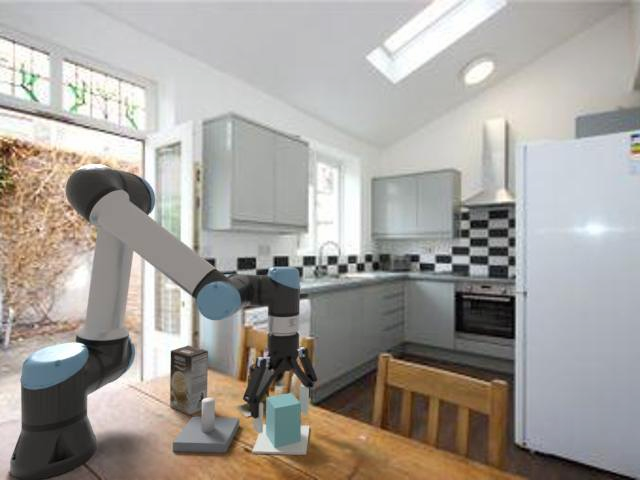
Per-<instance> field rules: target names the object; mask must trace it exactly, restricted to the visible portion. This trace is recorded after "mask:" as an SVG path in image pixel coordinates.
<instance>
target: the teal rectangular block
mask: <svg viewBox="0 0 640 480" xmlns="http://www.w3.org/2000/svg"><path fill="white" fill-rule="evenodd" d="M265 413H266V414H265V425H266V435H267V437H268V439H269V440H270V442H271V443H272V445H273V447H274V448H277V447H281V446H285V445H289V444H293V443H297V442H301V424H302V423H301V422H302V418H301V417H302V416H301V415H302V412H301V403H300V402H299V400H298V398H297V397H295V395H294V394H293V393H292V392H288V393H283V394H279V395H273V396H269V397H266V412H265Z"/></svg>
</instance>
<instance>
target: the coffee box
mask: <svg viewBox="0 0 640 480" xmlns="http://www.w3.org/2000/svg"><path fill="white" fill-rule="evenodd" d="M208 354H209V351H208V350H207V349H203V348H199V347H195V346H192V345H189V344H188V345H186V346H182V347H179V348H176V349H171V350H170V369H169V370H170V379H169V380H170V383H169V384H170V386H169V387H170V389H169V393H170V394H169V395H170V396H169V407H171V408H173V409H175V410H178V411H180V412H183V413H185V414H187V415H192V414H194V413H196V412H199V411H200V410H201V411H202V400H203V399H205V398H208V369H209V368H208V365H209V355H208Z"/></svg>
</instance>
